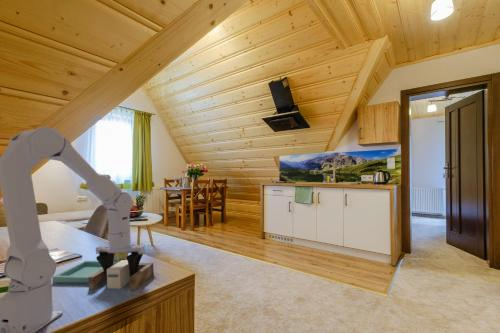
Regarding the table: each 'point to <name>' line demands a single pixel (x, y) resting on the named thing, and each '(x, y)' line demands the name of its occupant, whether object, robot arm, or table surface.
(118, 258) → the supplement bottle
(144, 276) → the bay
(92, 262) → the tray
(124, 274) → the cream rectangular block
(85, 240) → the table surface
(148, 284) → the table surface
